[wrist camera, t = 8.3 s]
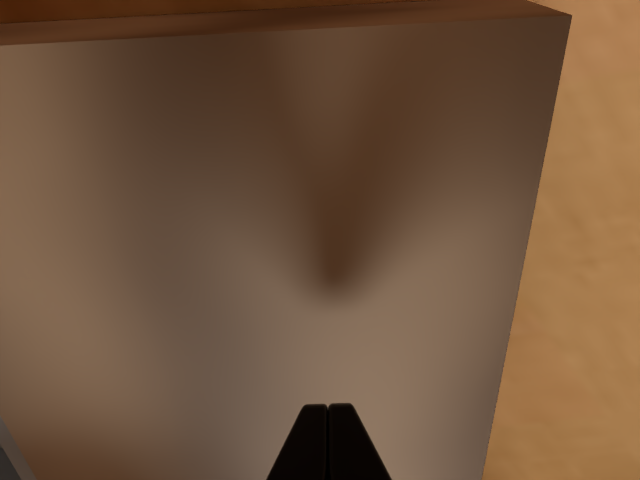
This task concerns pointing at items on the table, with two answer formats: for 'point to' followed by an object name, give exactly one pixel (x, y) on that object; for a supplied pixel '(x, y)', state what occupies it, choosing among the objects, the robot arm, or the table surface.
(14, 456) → the tray
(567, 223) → the table surface
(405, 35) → the brown board
